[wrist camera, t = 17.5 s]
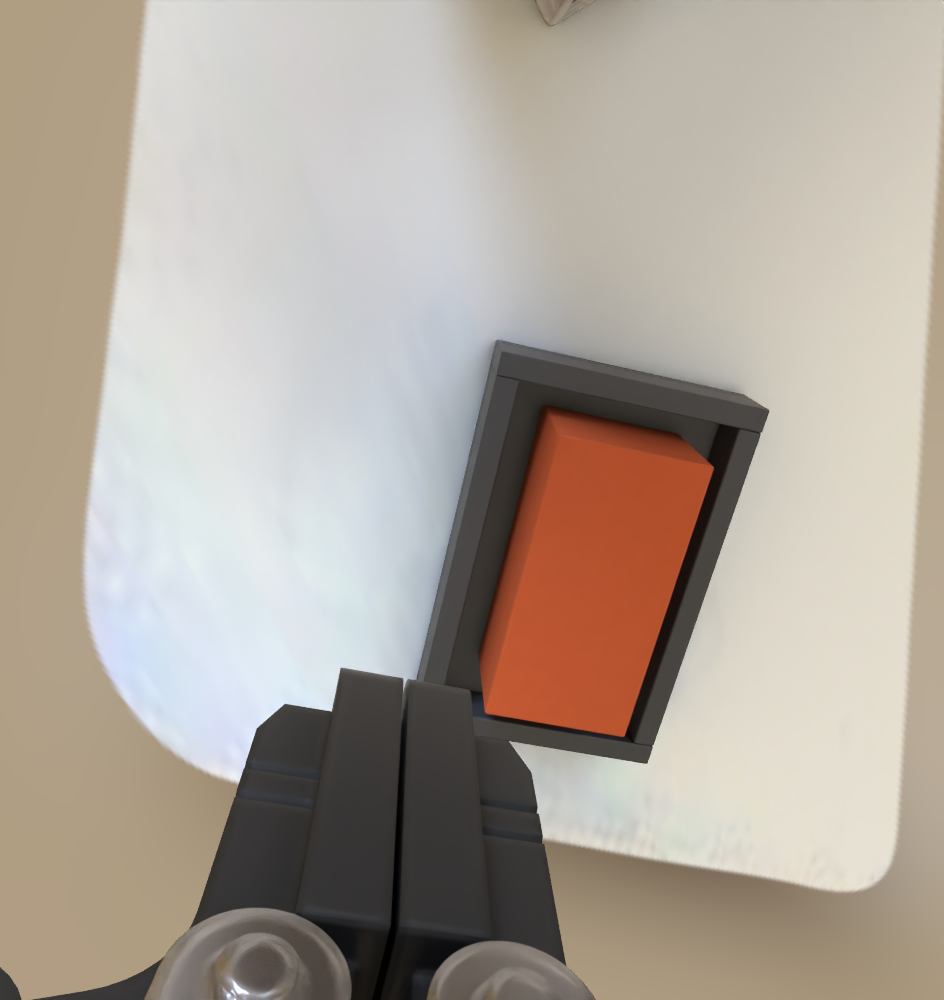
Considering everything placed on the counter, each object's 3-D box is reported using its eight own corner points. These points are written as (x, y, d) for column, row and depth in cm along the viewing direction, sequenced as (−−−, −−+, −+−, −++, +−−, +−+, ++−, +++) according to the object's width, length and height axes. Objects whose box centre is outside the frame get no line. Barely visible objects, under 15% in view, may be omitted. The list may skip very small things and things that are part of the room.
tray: (496, 339, 29) (502, 350, 27) (744, 394, 30) (770, 410, 28) (413, 690, 34) (412, 725, 31) (633, 728, 35) (647, 764, 33)
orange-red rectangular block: (542, 404, 30) (559, 433, 26) (679, 433, 30) (715, 467, 26) (477, 655, 33) (484, 714, 29) (602, 677, 33) (625, 738, 29)
